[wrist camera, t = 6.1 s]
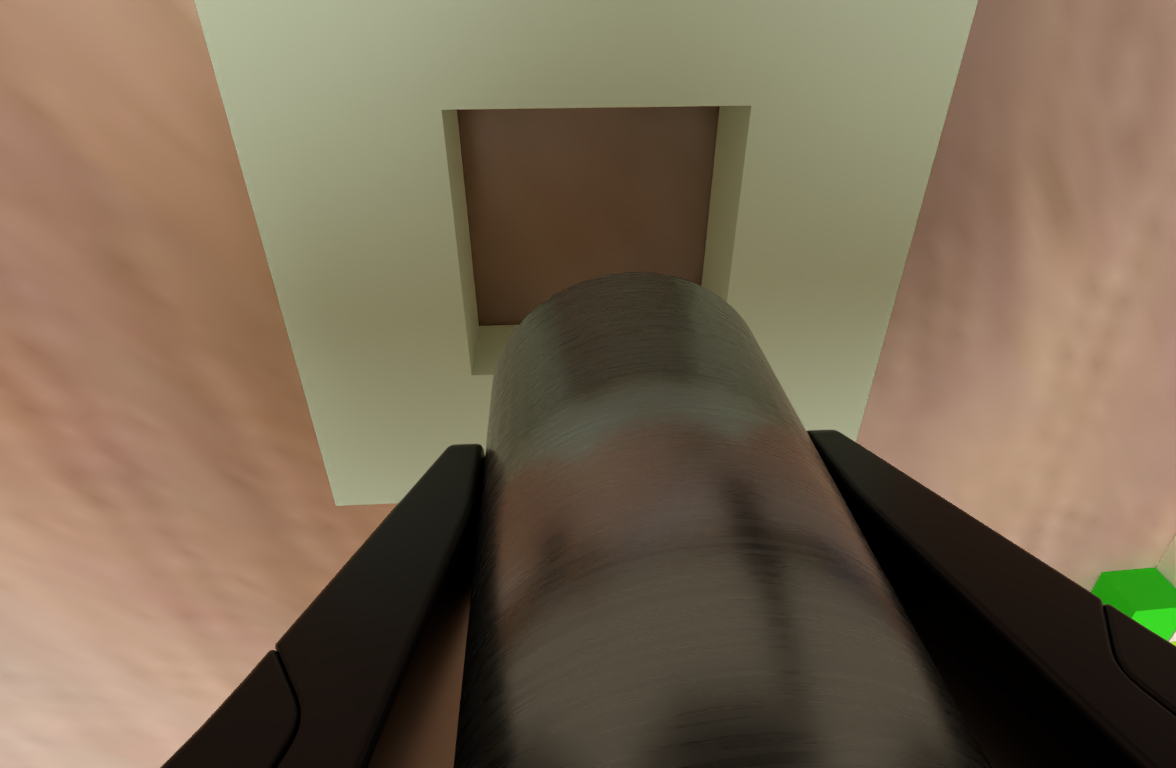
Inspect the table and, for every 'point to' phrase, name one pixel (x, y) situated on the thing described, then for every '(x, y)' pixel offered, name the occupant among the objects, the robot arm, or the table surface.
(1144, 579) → the building blocks
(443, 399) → the hole board
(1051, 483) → the table surface
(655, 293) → the long steel pin
